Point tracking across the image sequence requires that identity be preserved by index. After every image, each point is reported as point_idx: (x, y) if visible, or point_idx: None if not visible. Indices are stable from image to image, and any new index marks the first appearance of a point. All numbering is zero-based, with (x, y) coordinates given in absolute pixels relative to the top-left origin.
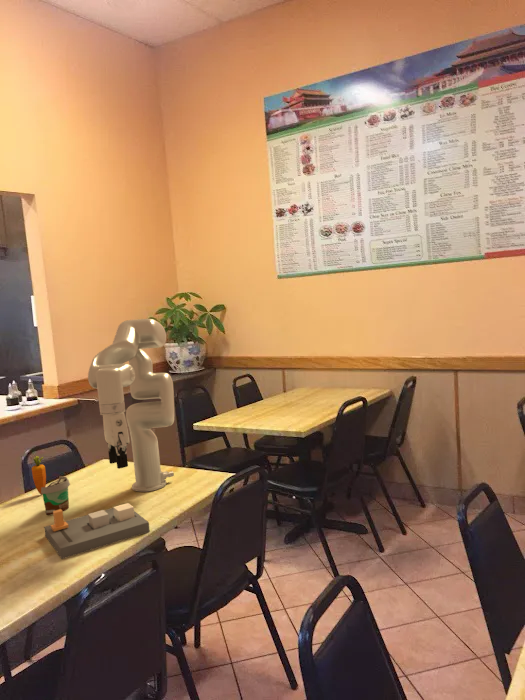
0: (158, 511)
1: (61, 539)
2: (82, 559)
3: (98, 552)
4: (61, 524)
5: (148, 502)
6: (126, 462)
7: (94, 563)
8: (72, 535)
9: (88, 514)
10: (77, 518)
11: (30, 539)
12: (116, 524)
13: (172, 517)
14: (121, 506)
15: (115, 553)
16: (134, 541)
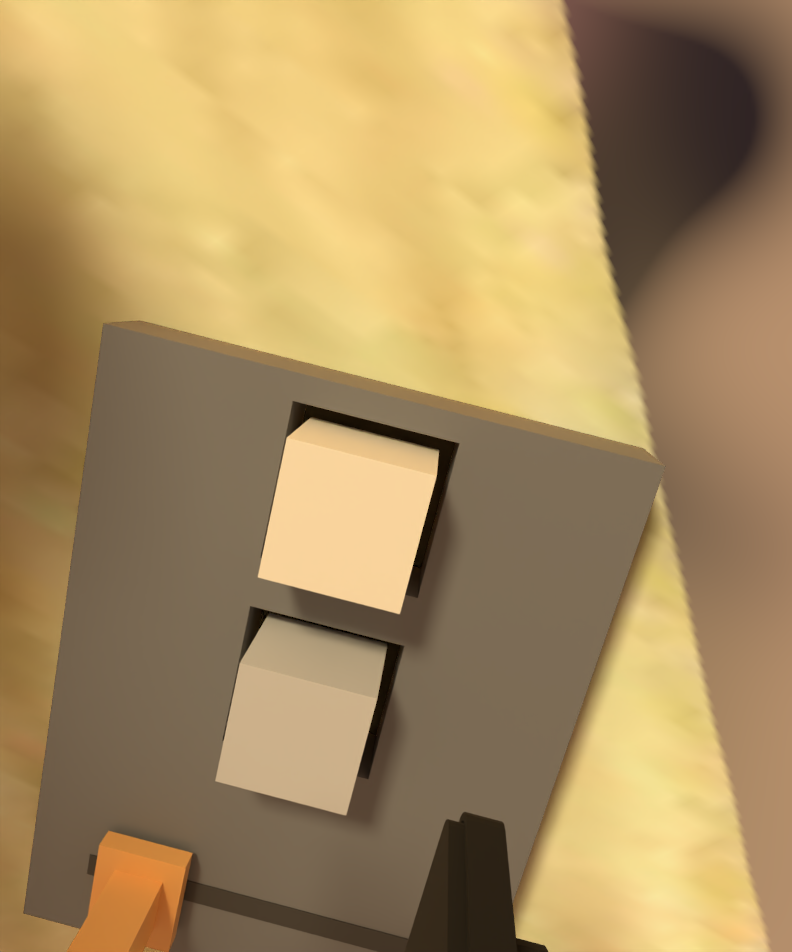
0: (347, 125)
1: None
2: (586, 919)
3: (592, 825)
4: (155, 905)
5: (67, 34)
6: (506, 915)
7: (704, 914)
8: (341, 899)
9: (228, 783)
10: (67, 723)
11: (31, 923)
12: (452, 637)
13: (582, 140)
14: (314, 529)
15: (711, 781)
16: (677, 612)
